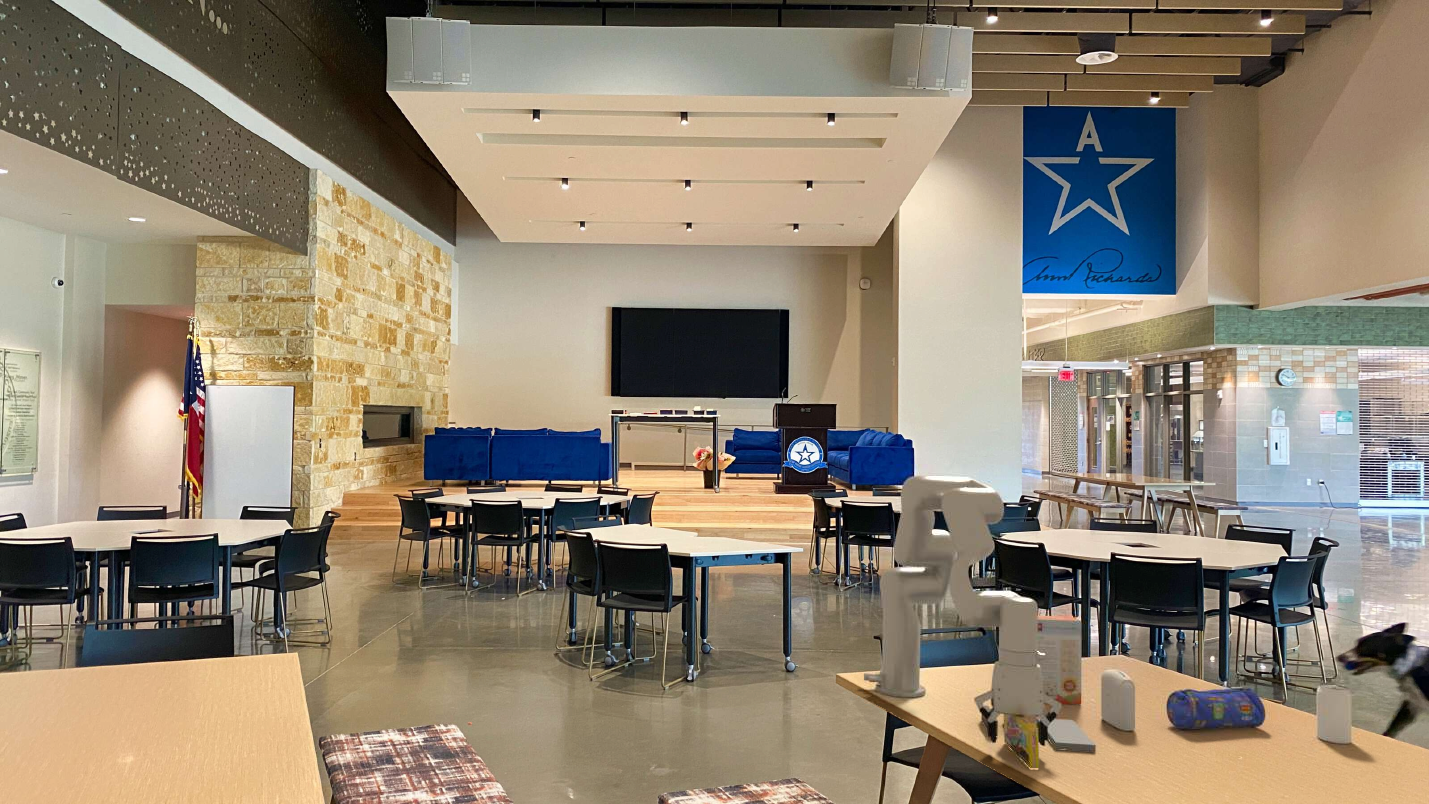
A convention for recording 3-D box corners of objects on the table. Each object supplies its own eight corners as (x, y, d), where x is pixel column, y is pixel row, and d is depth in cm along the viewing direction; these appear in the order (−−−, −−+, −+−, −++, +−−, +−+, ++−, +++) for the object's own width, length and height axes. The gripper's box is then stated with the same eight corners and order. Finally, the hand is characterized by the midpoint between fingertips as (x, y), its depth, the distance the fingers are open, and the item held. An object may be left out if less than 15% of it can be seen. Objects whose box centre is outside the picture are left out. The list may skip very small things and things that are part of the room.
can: (1346, 737, 208) (1346, 684, 208) (1355, 746, 202) (1355, 691, 202) (1313, 734, 210) (1312, 680, 210) (1321, 742, 204) (1321, 687, 204)
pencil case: (1241, 720, 220) (1241, 680, 220) (1270, 732, 211) (1271, 689, 212) (1162, 724, 214) (1162, 682, 215) (1189, 736, 206) (1189, 692, 207)
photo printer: (1098, 718, 217) (1098, 665, 218) (1116, 718, 218) (1116, 665, 218) (1119, 731, 207) (1119, 676, 208) (1137, 732, 207) (1138, 676, 208)
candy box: (1002, 744, 196) (1003, 704, 197) (1012, 744, 196) (1013, 704, 197) (1028, 770, 180) (1029, 727, 180) (1039, 771, 180) (1040, 728, 180)
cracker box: (1074, 699, 234) (1075, 616, 235) (1081, 705, 228) (1082, 620, 229) (1018, 696, 235) (1019, 613, 236) (1023, 702, 229) (1025, 617, 230)
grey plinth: (1055, 749, 193) (1055, 742, 193) (1036, 724, 211) (1036, 717, 211) (1095, 752, 192) (1095, 745, 192) (1072, 726, 210) (1072, 720, 210)
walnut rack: (990, 736, 200) (990, 720, 201) (981, 720, 212) (981, 705, 212) (1021, 738, 200) (1022, 722, 200) (1010, 722, 211) (1011, 707, 212)
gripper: (1056, 656, 193) (1056, 739, 192) (972, 651, 195) (971, 734, 194) (1066, 664, 185) (1065, 750, 184) (978, 659, 187) (976, 745, 186)
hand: (1017, 742), depth 189 cm, fingers open, 9 cm apart
